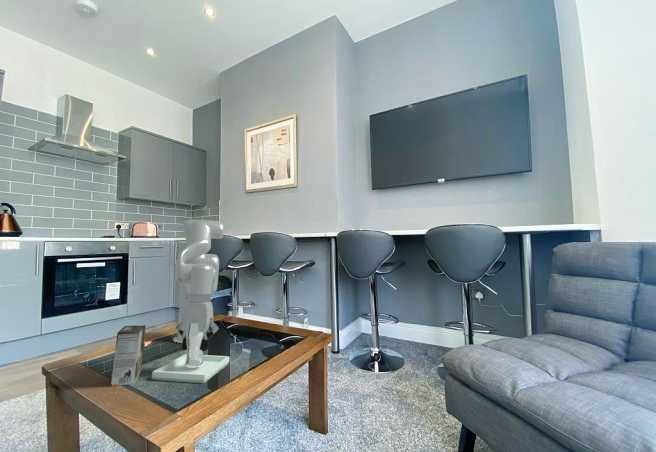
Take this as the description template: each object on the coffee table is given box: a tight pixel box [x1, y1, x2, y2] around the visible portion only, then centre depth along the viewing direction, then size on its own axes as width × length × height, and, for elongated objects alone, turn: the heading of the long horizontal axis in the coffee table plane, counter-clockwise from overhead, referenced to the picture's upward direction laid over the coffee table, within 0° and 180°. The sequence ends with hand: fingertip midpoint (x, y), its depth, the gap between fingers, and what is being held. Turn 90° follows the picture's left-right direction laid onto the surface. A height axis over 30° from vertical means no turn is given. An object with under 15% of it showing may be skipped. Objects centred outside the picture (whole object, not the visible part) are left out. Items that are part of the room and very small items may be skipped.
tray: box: [151, 353, 230, 384], centre depth 98 cm, size 18×18×2 cm
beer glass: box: [185, 323, 204, 368], centre depth 99 cm, size 7×7×15 cm
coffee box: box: [110, 325, 147, 386], centre depth 90 cm, size 9×6×16 cm
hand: (195, 349), depth 99 cm, fingers closed on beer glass, 6 cm apart
